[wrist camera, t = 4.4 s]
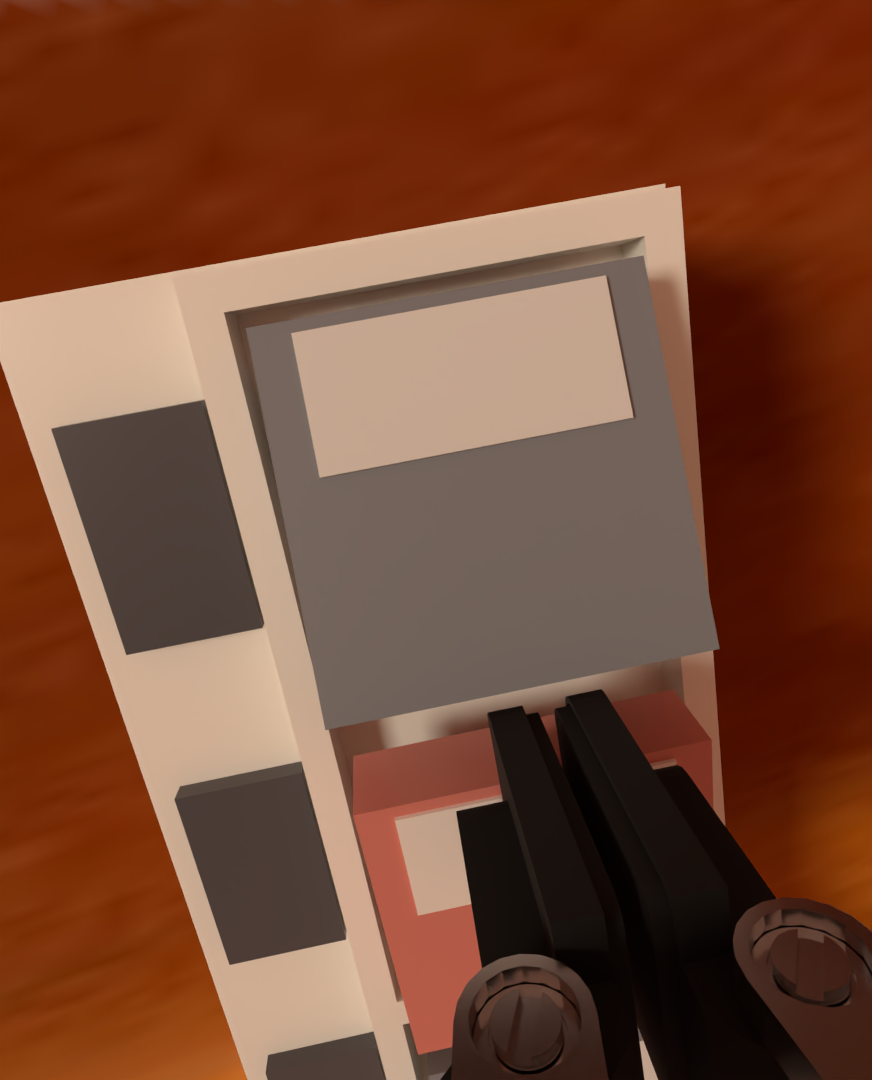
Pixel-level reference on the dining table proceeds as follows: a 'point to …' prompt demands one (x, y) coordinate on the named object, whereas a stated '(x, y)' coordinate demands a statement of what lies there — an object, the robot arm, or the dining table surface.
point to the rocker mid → (436, 852)
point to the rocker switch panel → (281, 594)
